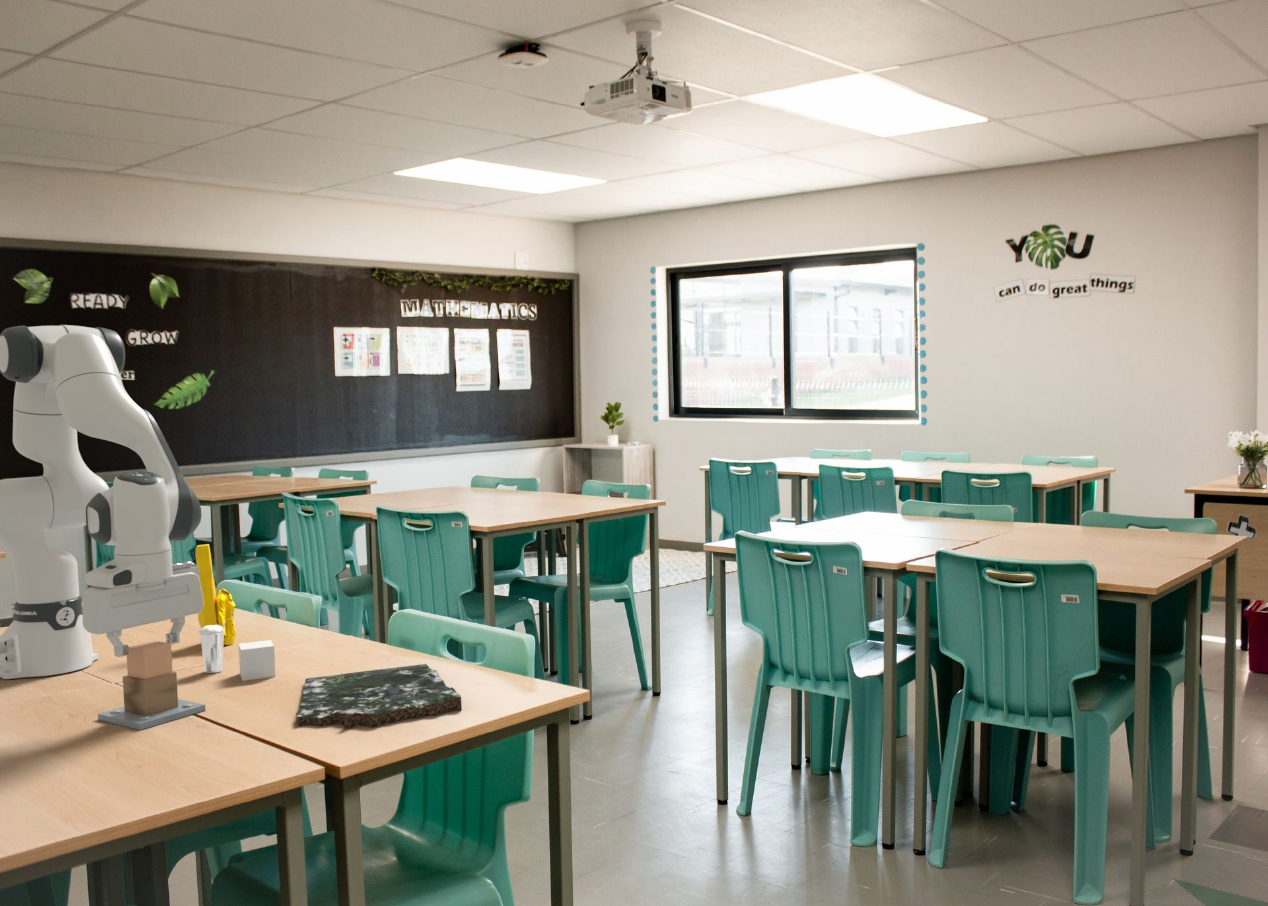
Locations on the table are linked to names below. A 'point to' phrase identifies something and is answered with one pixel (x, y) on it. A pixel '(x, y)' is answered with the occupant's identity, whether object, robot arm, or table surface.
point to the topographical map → (376, 697)
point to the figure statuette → (214, 598)
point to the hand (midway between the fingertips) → (147, 649)
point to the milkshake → (212, 647)
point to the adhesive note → (257, 660)
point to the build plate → (144, 722)
